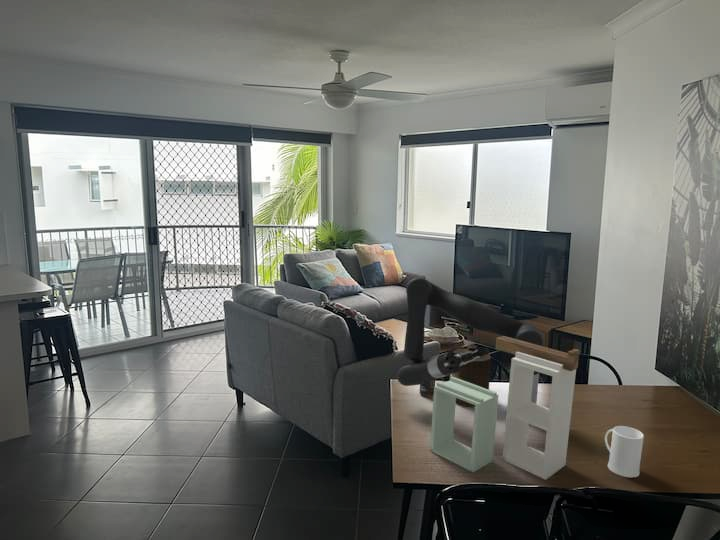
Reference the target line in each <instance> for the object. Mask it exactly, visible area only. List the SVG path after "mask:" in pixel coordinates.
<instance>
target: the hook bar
mask: <svg viewBox="0 0 720 540" xmlns="http://www.w3.org/2000/svg"><path fill="white" fill-rule="evenodd" d="M495 350H498V351H501V352H504V353H508V354H512V355H513V356H514V355H515V354H516V352H521V353H524V354H528V355H531V356H535V357H538V358H542V359H545V360H549V361H552V362H556V363H559V364H562V365H563V369H565V370H568V371H573V370H575V369H576V370H577V369H578V367H579V359H580V349H578V348H577V349H576V348H573V349H571V350H568V351H567V352H564V351H561V350H558V349H553V348H550V347H547V346H544V345H543V346H539V345H536V344H532V343H528V342H524V341H521V340H517V339H513V338H510V337H506V336H501V335H500V336H499V337H496V339H495Z"/></svg>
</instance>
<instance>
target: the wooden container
mask: <svg viewBox="0 0 720 540" xmlns="http://www.w3.org/2000/svg"><path fill="white" fill-rule="evenodd" d="M476 350H478V349H477V345H475V344H474V343H470V344H468V345H467V348H458V349H454V350H453V351H452V352H454V353H456V354H460V353H465V352H468V351H472V352H473V351H476ZM464 355H465V354H464ZM491 361H492V358H491V355H490V353H489V354H487V355H484V356H482V357H480V358H476V359H475V360H474V361H471V362H468V363H467V364H465V365H462V366H461V368H460V370H459V372H457V373H455V374H451V375H449V378H450V377H455V378H458V379H461V380H463V381H466V382H469V383H472V384H474V385H477V386H480V387H483V388H485V389H488V390H490V375H491V374H490V373H491ZM455 405H458V406H461V407H466V408H475V405H473V404H471V403H468V402H466V401H463V400H461V399H458V398H456V404H455Z"/></svg>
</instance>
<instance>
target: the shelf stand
mask: <svg viewBox="0 0 720 540" xmlns="http://www.w3.org/2000/svg"><path fill="white" fill-rule="evenodd" d="M510 362H511V363H510V371H509V372H510V374H509V383H508V384H509V385H508V395H507V403H506V404H507V406H506V418H505V427H504V429H505V430H504V437H503V439H504V440H503V449H502V457H501V458H502V459H501V460H503V461H504V462H507V463H509V464H511V465H512V466H516V467H517V468H520V469H522V470H523V471H527V473H530V474H532V475H534V476H536V477H539V478H540V479H543V480H545V481H546V480H548V479H549V478H551V476H553V475H554V474H556V473H557V472H559V470H561V469H563V467H565V466H566V463H567V453H568V444H569V435H570V427H571V419H572V411H573V409H572V408H573V399H574V393H575V383H576V382H575V381H576V376H577V375H576V374H577V369H575V370H573V371H568V370H565V369H563V365H562V364H559V363H556V362H552V361H549V360H545V359H542V358H538V357H535V356H531V355H528V354H524V353H521V352H516V354H515V357H514V356H513V357H512V358H511V361H510ZM534 371H537V372H539V374H540V373H541V374H543V375H546V376H547V375H548V376H550V377H552V378H551V379H552V380H551V387H550V388H551V389H550V397H549V407H545V406H543V405H540V404H538V403H536V404H535V403H532V402H531V396H532V386H533V376H534ZM529 425H531V426H534V427H536V428H538V429H541V430H543V431H546V437H545V445H544V451H540V450H538V449H536V448H533V447H531V446H529V445H527V444H528V435H529Z"/></svg>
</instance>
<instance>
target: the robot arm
mask: <svg viewBox="0 0 720 540" xmlns="http://www.w3.org/2000/svg"><path fill="white" fill-rule="evenodd" d="M405 292H406V299H407V300H406V301H407V318H406V319H407V321H406V327H405V328H406V330H405V337H404V347H403V348H404V349H403V357H404V358H405V359H407V360H410V364H408V365H404V366H402V367H400V369H399V370H398V371H397V374H396V378H397V381H398V383H399V384H400V385H402V386H404V387H410V386H411V387H413V386H420V384H422V383H423V381H428V380H432V379H435V380H436V379H439V378H444V377H448V376H450V375H451V374H455V373H457V372H459V370H460V368H461V366H462V365H465V364H467V363H468V362H471V361H474V360H475V359H476V358H480V357H482V356H484V355H487V354H489V355H490V351H489V348H488V347H484V348H478V349H476V351H473V352H472V351H468V352H465V353H460V354H456V353H454V352H453V351H452V350H449V351H446V352H444V353H441V354H437V355H435V356H433V357H431V358H428V359H424V346H425V320H426V319H425V318H426V311H427V307H428V306H430V307H432V308H435V309H438V310H440V311H441V312H444V313H445V314H446V315H448V316H449V317H450V318H452V319H454V320H456V321H457V322H459V323H462V324H464V325H466V326H467V327H470V328H472V329H475V330H478V331H480V332H487V333H492V334H496V335H499V336H500V337H501V336H506V337H510V338H513V339H517V340H521V341H524V342H528V343H532V344H536V345H539V346H543V347H544V341H543V335H542V332H541V331H540V330H539V328H537V327H536V326H535V325H533V324H530V323H526V322H523V321H522V320H521V321H520V320H517V319H514V318H512V317H509V316H507V315H504V314H502V313H501V312H499V311H497V310H495V309H493V308H491V307H489V306H487V305H485V304H483V303H480V302H478V301H476V300H474V299H471V298H468V297H466V296H463V295H460V294H456V293H453V292H451V291H447V290H445V289H443V288H441V287H440V286H438V285H436V284H434V283H432V282H431V281H429V280H428V279H426V278H424V277H414V278H412V279H411V280H409V282H408V283H407V285H406V288H405ZM464 354H465V355H464ZM514 357H515V355H514V354H513V358H514ZM539 377H540V372H537V371H534V376H533V386H532V396H531V402H532V403H535V404H538V402H537V401H538V393H539V392H538V389H539V379H540V378H539Z"/></svg>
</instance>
